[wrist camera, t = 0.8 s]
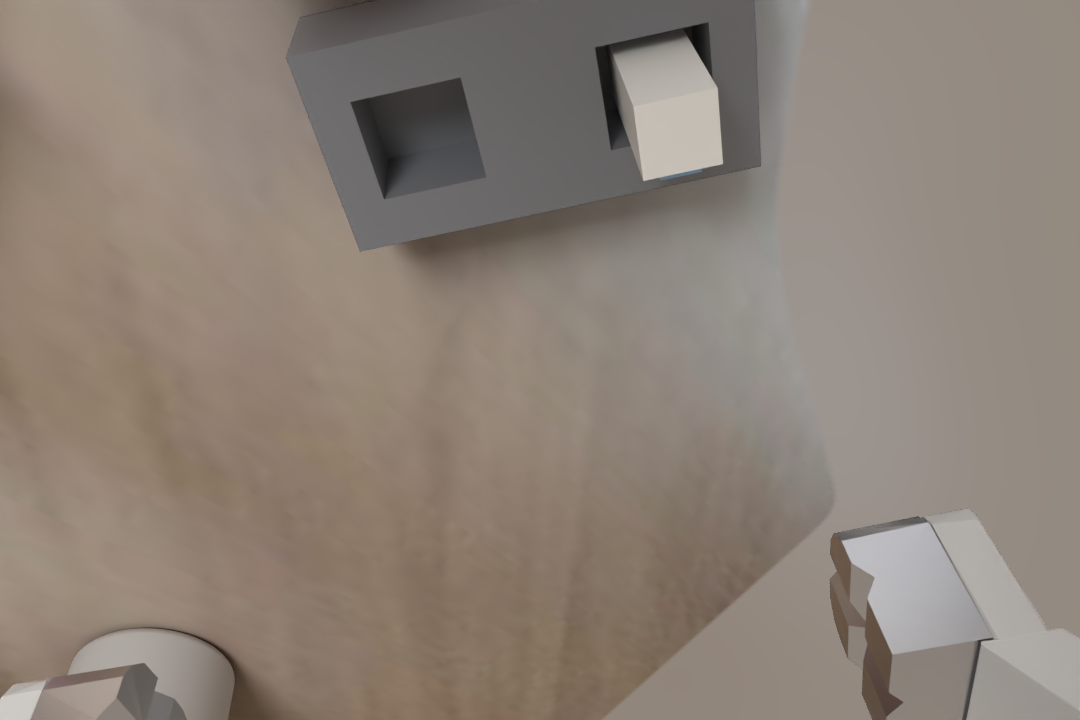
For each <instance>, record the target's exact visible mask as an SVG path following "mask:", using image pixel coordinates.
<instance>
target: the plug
mask: <svg viewBox="0 0 1080 720" xmlns="http://www.w3.org/2000/svg"><path fill="white" fill-rule="evenodd" d="M605 48H606V55H607V61H608V68H609V75H610V81H611V88H612V95H613V98H614V100H615V103H616V106H617V109H618V112H619V114H620V117H621V120H622V123H623V125H624V128H625V131H626V134H627V137H628V139H629V142H630V145H631V148H632V151H633V153H634V156H635V159H636V162H637V165H638V167H639V170H640V173H641V176H642V179H643V181H646V180H651V179H655V178H660V180H666V179H671V178H675V177H680V176H685V175H689V174H694V173H699V172H702V168H707V167H711V166H716V165H721V164H723V157H722V143H721V128H720V114H719V100H718V88H717V86H716V84H715V83H714V81H713V79H712V78H711V76H710V74H709V72H708V71H707V69H706V67H705V66H704V64H703V62H702V60H701V59H700V57H699V55H698V54H697V52H696V50H695V49H694V47H693V45H692V43H691V42H690V40H689V38H688V37H687V35H686V33H685V31H684V30H683V28H680V29H676V30H671V31H667V32H662V33H658V34H653V35H649V36H644V37H640V38H635V39H631V40H626V41H622V42H617V43H613V44H608V45H605Z"/></svg>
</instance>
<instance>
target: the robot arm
mask: <svg viewBox="0 0 1080 720" xmlns="http://www.w3.org/2000/svg"><path fill="white" fill-rule="evenodd" d="M830 554H831V557H832V560H833V562H834V564H835V567H836V569H837V572H836V573H835V574H834V575H833V576H832V577H831V579H830V598H831V604H832V609H833V615H834V620H835V623H836V627H837V630H838V633H839V636H840V639H841V642H842V644H843V647H844V650H845V652H846V655H847V657H848V659H849V660H850V661H852V662H853V663H855V664H856V665H857V666H859V667H860V668H861V669H863V681H862V695H863V698H864V700H865V703H866V705H867V708H868V710H869V713H870V715H871V718H872V720H1080V638H1078V637H1076V636H1075V635H1073V634H1071V633H1070V632H1068V631H1066V630H1065V629H1063V628H1058V629H1050V630H1048V629H1047V627H1046V626H1045V624H1044V622H1043V621H1042V619H1041V618H1040V616H1039V614H1038V613H1037V611H1036V610H1035V608H1034V606H1033V605H1032V603H1031V602H1030V600H1029V598H1028V597H1027V595H1026V594H1025V592H1024V590H1023V589H1022V587H1021V586H1020V584H1019V582H1018V581H1017V579H1016V578H1015V576H1014V575H1013V573H1012V571H1011V569H1010V568H1009V566H1008V565H1007V563H1006V561H1005V560H1004V558H1003V557H1002V555H1001V553H1000V552H999V550H998V549H997V547H996V545H995V544H994V542H993V541H992V539H991V537H990V536H989V534H988V533H987V531H986V530H985V528H984V527H983V525H982V523H981V521H980V520H979V518H978V517H977V515H976V514H974V513H973V512H972V511H970V510H969V509H960V510H955V511H950V512H946V513H940V514H935V515H930V516H925V517H921V518H920V517H913V518H908V519H903V520H898V521H893V522H888V523H883V524H878V525H873V526H868V527H863V528H858V529H853V530H849V531H843V532H838V533H834V534H833V536H832V538H831V548H830ZM157 680H158V677H157V676H156V675H155V674H154V673H153V672H152V671H151V670H150V669H149V667H148V666H147V665H146V664H145V663H140V664H134V665H127V666H121V667H115V668H109V669H103V670H96V671H90V672H84V673H78V674H72V675H66V676H59V677H52V678H47V679H41V680H36V681H30V682H25V683H19V684H14V685H13V686H12V687H11V688H10V689H9V690H8V691H7V692H6V693H5V694H4V695H3V696H2V697H1V699H0V720H187V719H186V716H185V713H184V710H183V709H182V708H181V706H180V705H179V704H178V702H177V701H176V700H175V699H174V698H172V697H169V696H167V695H164V694H162V693H159V692H157V691H155V687H156V684H157Z"/></svg>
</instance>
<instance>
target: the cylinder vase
mask: <svg viewBox="0 0 1080 720" xmlns="http://www.w3.org/2000/svg"><path fill="white" fill-rule="evenodd" d="M140 663H145V664H146V665H147V666H148V667H149V669H150V670H151V671H152V672H153V673H154V674H155V675H156V676H157V677H158V680H157V684H156V687H155V691H157V692H159V693H162V694H164V695H167V696H169V697H172V698H174V699H175V700H176V701H177V702H178V704H179V705H180V706H181V708H182V709H183V710H184V713H185V716H186V719H187V720H228V716H229V711H230V706H231V700H232V695H233V690H234V684H235V677H234V672H233V669H232V667H231V665H230V663H229V661H228V660H227V659H226V657H225V656H224V655H223V654H222V653H221V652H220V651H218V650H217V649H216V648H215V647H213V646H212V645H210V644H208V643H207V642H205V641H203V640H201V639H198V638H196V637H193V636H191V635H188V634H184V633H181V632H176V631H172V630H165V629H156V628H136V629H126V630H121V631H116V632H112V633H109V634H106V635H103V636H101V637H99V638H97V639H95V640H93V641H91V642H90V643H88V644H87V645H85V646H84V647H83V648H82V649H81V650H80V651H79V652H78V653H77V655H76V656H75V658H74V659H73V661H72V664H71V666H70V669H69V672H68V675H72V674H78V673H84V672H90V671H96V670H103V669H109V668H115V667H121V666H127V665H134V664H140Z"/></svg>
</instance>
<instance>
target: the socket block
mask: <svg viewBox="0 0 1080 720" xmlns="http://www.w3.org/2000/svg"><path fill="white" fill-rule="evenodd" d="M680 28H683V30H684V31H685V33H686V35H687V37H688V38H689V40H690V42H691V43H692V45H693V47H694V49H695V50H696V52H697V54H698V55H699V57H700V59H701V60H702V62H703V64H704V66H705V67H706V69H707V71H708V72H709V74H710V76H711V78H712V79H713V81H714V83H715V84H716V86H717V88H718V100H719V114H720V128H721V143H722V157H723V164H721V165H716V166H711V167H707V168H702V172H699V173H694V174H689V175H685V176H680V177H675V178H671V179H666V180H660V178H655V179H651V180H646V181H643V179H642V176H641V173H640V170H639V167H638V165H637V162H636V159H635V156H634V153H633V151H632V148H631V145H630V142H629V139H628V137H627V134H626V131H625V128H624V125H623V123H622V120H621V117H620V114H619V112H618V109H617V106H616V103H615V100H614V98H613V95H612V88H611V81H610V75H609V68H608V61H607V55H606V48H605V45H608V44H613V43H617V42H622V41H626V40H631V39H635V38H640V37H644V36H649V35H653V34H658V33H662V32H667V31H671V30H676V29H680ZM286 59H287V62H288V64H289V67H290V70H291V72H292V75H293V77H294V80H295V83H296V85H297V88H298V91H299V93H300V96H301V98H302V101H303V104H304V106H305V109H306V111H307V114H308V117H309V119H310V122H311V125H312V127H313V130H314V132H315V135H316V138H317V140H318V143H319V146H320V148H321V151H322V153H323V156H324V159H325V161H326V164H327V166H328V169H329V172H330V174H331V177H332V180H333V182H334V185H335V187H336V190H337V193H338V195H339V198H340V201H341V203H342V206H343V208H344V211H345V214H346V216H347V219H348V222H349V224H350V227H351V229H352V232H353V235H354V237H355V240H356V242H357V245H358V248H359V250H360V252H361V251H365V250H370V249H375V248H379V247H384V246H389V245H393V244H398V243H403V242H408V241H412V240H417V239H422V238H426V237H431V236H436V235H440V234H445V233H450V232H454V231H459V230H464V229H469V228H473V227H478V226H483V225H487V224H492V223H497V222H501V221H506V220H511V219H515V218H520V217H525V216H529V215H534V214H539V213H544V212H548V211H553V210H558V209H562V208H567V207H572V206H576V205H581V204H586V203H590V202H595V201H600V200H604V199H609V198H614V197H619V196H623V195H628V194H633V193H637V192H642V191H647V190H651V189H656V188H661V187H665V186H670V185H675V184H679V183H684V182H689V181H694V180H698V179H703V178H708V177H712V176H717V175H722V174H726V173H731V172H736V171H740V170H745V169H750V168H754V167H759V166H761V155H760V130H759V106H758V81H757V57H756V32H755V8H754V0H374V1H370V2H365V3H361V4H357V5H352V6H348V7H344V8H339V9H335V10H331V11H326V12H322V13H317V14H313V15H309V16H304V17H300V19H299V22H298V25H297V27H296V30H295V33H294V36H293V39H292V42H291V45H290V47H289V50H288V53H287V56H286Z"/></svg>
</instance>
